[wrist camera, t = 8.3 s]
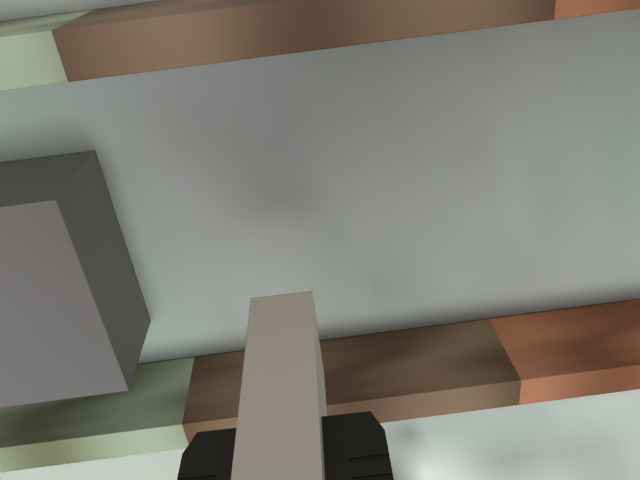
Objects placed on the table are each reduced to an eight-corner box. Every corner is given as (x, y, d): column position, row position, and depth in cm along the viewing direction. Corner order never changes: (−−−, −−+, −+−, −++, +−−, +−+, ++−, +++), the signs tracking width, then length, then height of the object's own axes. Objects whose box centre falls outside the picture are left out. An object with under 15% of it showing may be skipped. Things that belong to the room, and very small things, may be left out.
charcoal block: (97, 147, 19) (56, 199, 15) (151, 316, 22) (128, 390, 19) (-115, 175, 19) (-205, 233, 15) (-27, 340, 22) (-83, 418, 19)
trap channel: (746, -75, 16) (916, -72, 12) (654, 319, 23) (740, 410, 19) (-606, 99, 16) (-930, 165, 12) (-284, 441, 23) (-412, 561, 19)
